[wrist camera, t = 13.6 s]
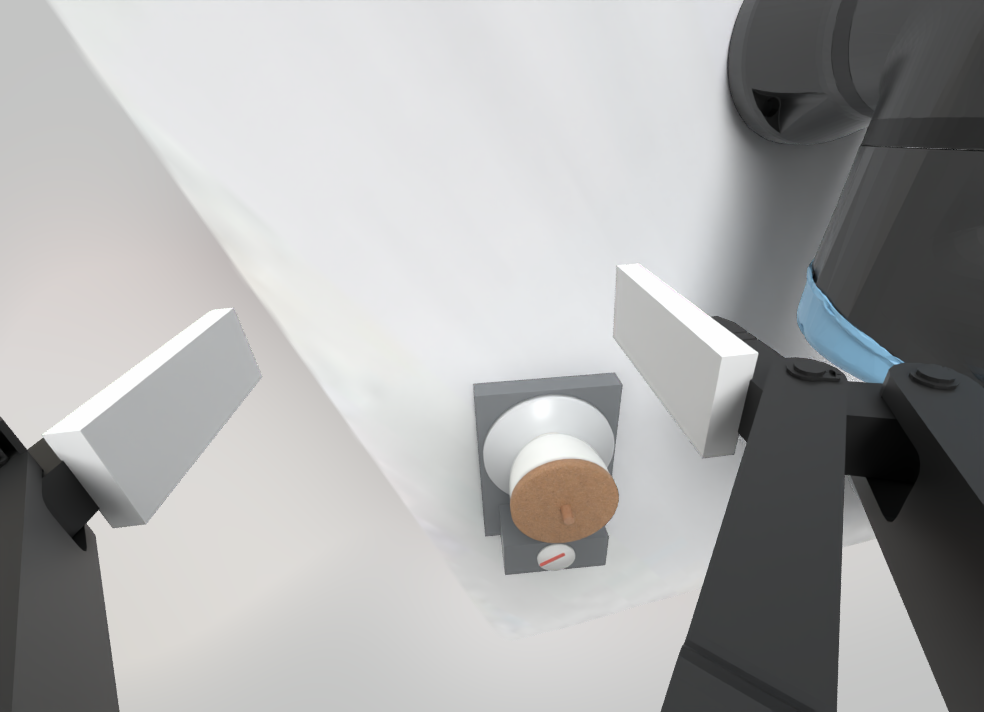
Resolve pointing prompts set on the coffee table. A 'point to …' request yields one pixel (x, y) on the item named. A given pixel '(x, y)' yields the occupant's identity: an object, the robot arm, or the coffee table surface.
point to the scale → (519, 419)
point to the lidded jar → (560, 489)
